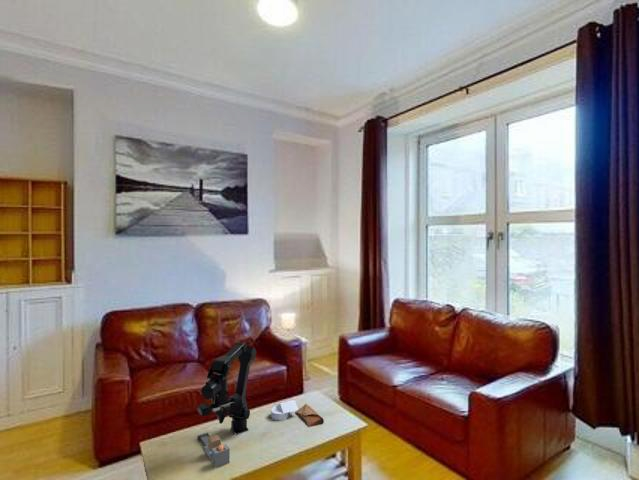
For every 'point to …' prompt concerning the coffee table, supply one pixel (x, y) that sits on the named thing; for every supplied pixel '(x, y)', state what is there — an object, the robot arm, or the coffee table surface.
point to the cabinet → (220, 456)
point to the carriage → (212, 444)
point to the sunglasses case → (309, 416)
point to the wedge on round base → (283, 410)
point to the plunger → (220, 448)
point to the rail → (203, 438)
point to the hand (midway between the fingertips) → (220, 423)
